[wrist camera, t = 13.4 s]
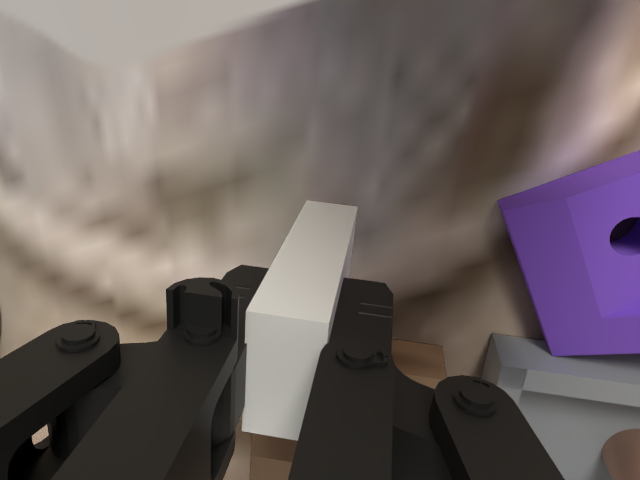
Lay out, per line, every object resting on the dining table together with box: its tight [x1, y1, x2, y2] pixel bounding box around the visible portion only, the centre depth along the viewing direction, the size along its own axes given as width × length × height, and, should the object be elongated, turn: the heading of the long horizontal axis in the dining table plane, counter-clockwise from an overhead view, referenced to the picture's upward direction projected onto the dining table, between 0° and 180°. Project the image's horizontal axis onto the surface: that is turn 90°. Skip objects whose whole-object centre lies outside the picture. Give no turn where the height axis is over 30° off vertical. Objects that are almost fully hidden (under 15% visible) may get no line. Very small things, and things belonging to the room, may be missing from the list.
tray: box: [481, 334, 640, 480], centre depth 23 cm, size 14×9×2 cm, turn 85°
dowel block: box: [250, 339, 447, 480], centre depth 25 cm, size 8×8×2 cm
